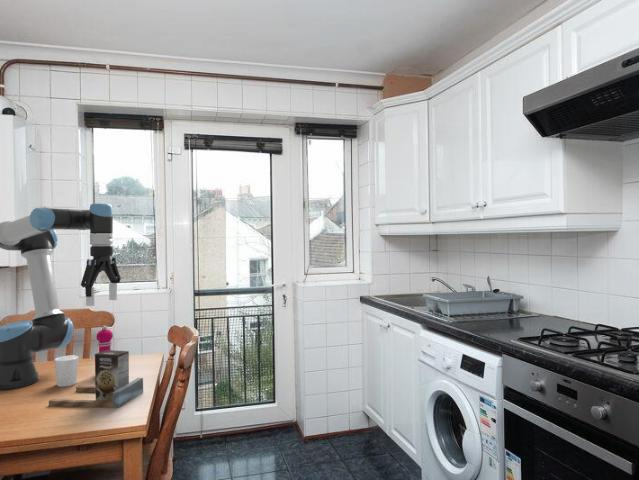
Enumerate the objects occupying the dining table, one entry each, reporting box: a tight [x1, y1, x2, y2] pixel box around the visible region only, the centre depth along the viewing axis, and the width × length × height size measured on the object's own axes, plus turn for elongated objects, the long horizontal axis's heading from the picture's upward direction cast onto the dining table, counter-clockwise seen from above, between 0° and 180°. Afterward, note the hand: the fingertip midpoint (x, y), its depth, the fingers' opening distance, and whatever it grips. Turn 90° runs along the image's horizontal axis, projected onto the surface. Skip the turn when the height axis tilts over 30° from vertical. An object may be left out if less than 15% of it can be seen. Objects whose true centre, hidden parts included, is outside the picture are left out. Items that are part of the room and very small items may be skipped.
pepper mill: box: [96, 325, 114, 353], centre depth 181 cm, size 7×7×20 cm
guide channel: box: [48, 377, 144, 409], centre depth 153 cm, size 25×15×5 cm, turn 83°
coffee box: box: [94, 349, 130, 401], centre depth 153 cm, size 9×6×16 cm
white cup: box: [54, 354, 79, 388], centre depth 170 cm, size 8×8×10 cm
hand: (102, 302), depth 164 cm, fingers open, 13 cm apart
